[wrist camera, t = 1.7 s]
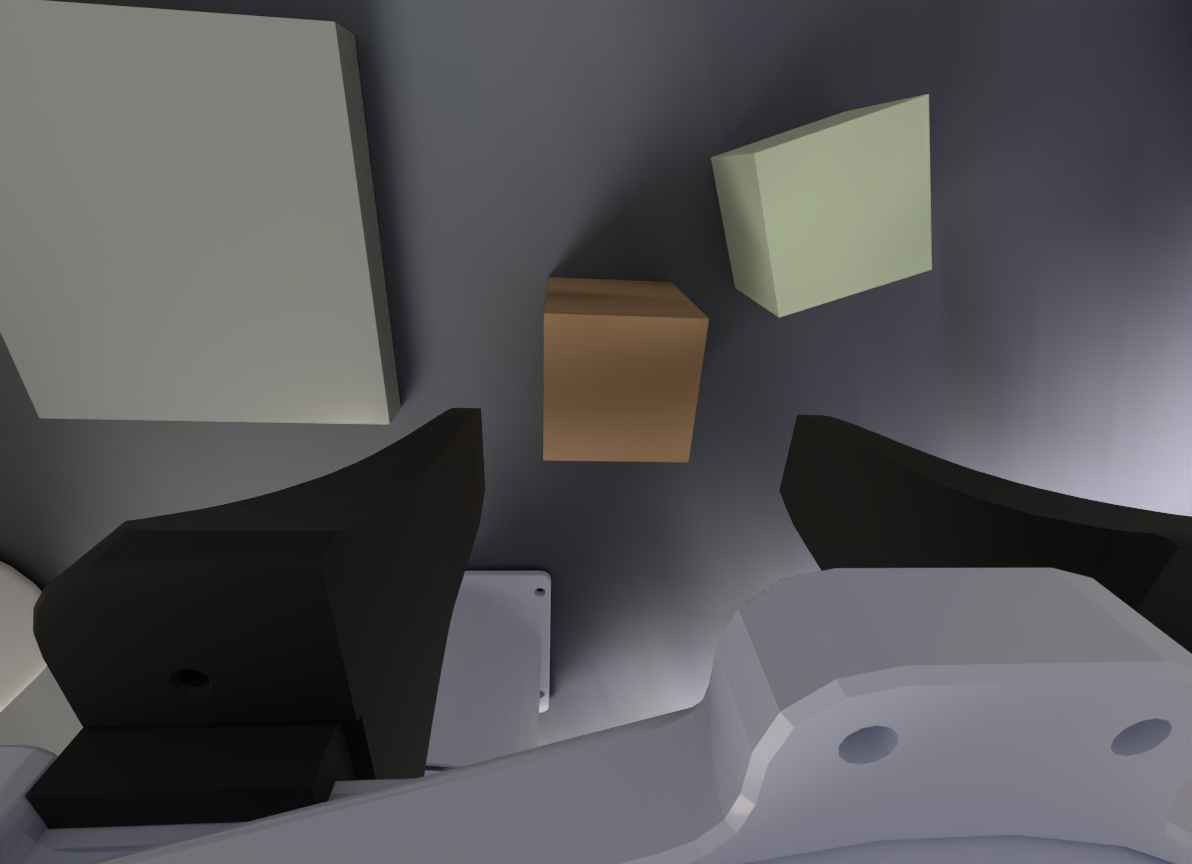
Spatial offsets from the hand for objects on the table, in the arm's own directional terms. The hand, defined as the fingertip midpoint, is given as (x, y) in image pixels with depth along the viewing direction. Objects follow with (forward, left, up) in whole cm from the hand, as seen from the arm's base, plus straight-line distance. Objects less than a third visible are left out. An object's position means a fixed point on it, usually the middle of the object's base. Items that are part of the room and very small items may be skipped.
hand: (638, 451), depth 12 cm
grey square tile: (+3, +14, -9) cm, 17 cm away
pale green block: (+5, -6, -9) cm, 12 cm away
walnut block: (0, 0, -9) cm, 9 cm away
